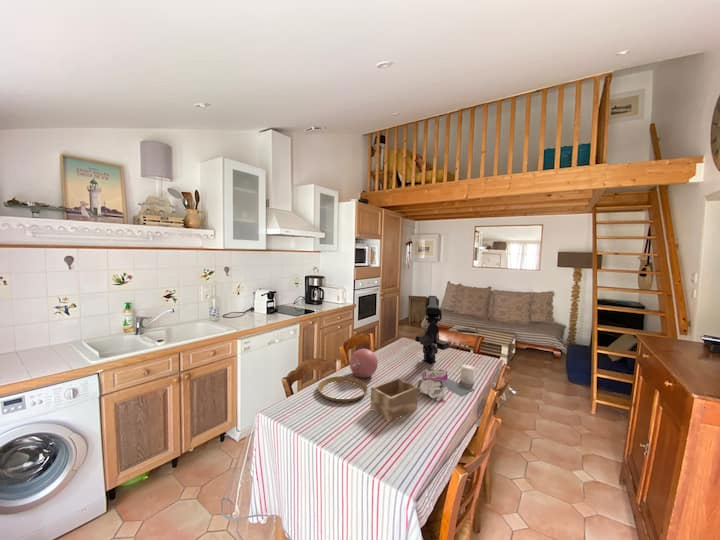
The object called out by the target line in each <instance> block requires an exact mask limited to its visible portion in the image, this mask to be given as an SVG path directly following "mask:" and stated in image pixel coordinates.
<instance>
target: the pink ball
mask: <svg viewBox="0 0 720 540" xmlns="http://www.w3.org/2000/svg"><path fill="white" fill-rule="evenodd" d="M378 363H379V362H378V357H377V356H376V354H375V353H374V352H373V351H372V350H370V349H367V348H359V349H357V350H355V351H354V352H353V353H352V354H351V356H350V359H349V368H350V371H351V372H352V374H353V375H355V376H356V377H358V378H361V379H365V378H366V379H367V378H369V377H371V376H373V375H374V374H375V373H376V371H377V370H378Z"/></svg>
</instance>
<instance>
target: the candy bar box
mask: <svg viewBox="0 0 720 540" xmlns="http://www.w3.org/2000/svg"><path fill="white" fill-rule="evenodd" d="M448 379H449V378H448V370H447V369H423V370H422V371H421V380H424V381H425V380H433V381H435V382H437V381H446V380H448Z"/></svg>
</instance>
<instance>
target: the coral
mask: <svg viewBox="0 0 720 540" xmlns="http://www.w3.org/2000/svg"><path fill="white" fill-rule="evenodd" d="M420 381H421V382H420V386H419V387H418V390H419V391H420V393H422V394H425V395H428V396H429V397H430V398H431V399H435V401H438V402H440V400H441V398H442V397H444V398H445V397H447V391H448V390H447V387H445V388H443V387H441V386H440V385H441V383H440V382H437V381H433V380H425V381H424V380H422V379H420ZM444 392H445V393H444Z"/></svg>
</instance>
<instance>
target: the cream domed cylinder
mask: <svg viewBox="0 0 720 540" xmlns="http://www.w3.org/2000/svg"><path fill="white" fill-rule="evenodd" d="M475 370H476V367H474V366H472V365H470V364H462V365H461V366H460V377H459V378H460V379H459V381H460V382H461V384H462V383H463V384H464V385H474V384H475Z"/></svg>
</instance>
